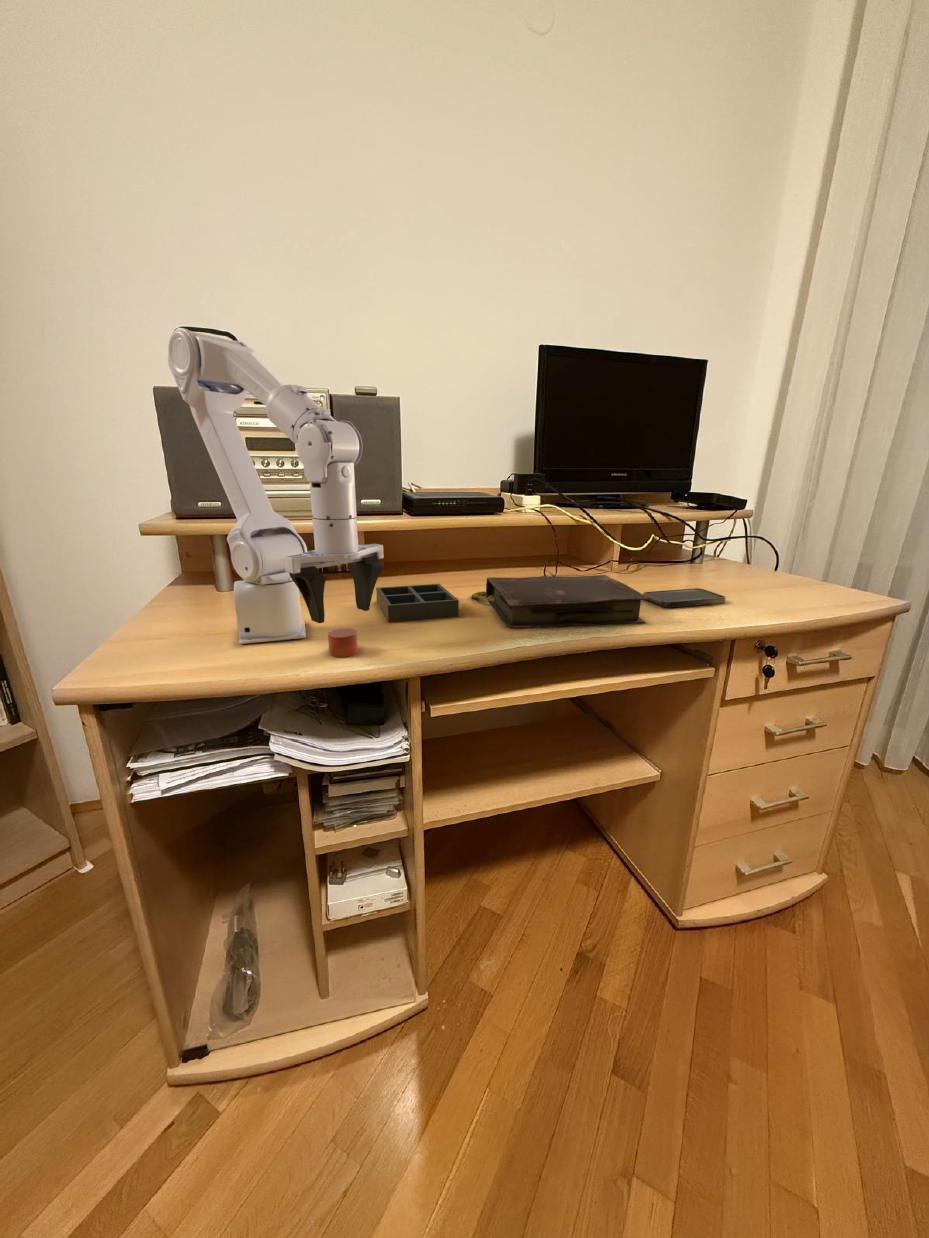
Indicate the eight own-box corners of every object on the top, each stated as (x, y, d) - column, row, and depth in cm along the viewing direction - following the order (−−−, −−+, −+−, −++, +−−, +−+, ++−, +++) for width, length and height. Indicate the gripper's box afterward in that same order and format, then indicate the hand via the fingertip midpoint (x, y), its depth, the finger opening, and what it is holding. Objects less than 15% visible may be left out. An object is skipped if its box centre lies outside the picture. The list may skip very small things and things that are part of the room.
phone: (641, 592, 101) (700, 587, 106) (640, 597, 102) (699, 592, 106) (666, 602, 94) (728, 597, 98) (665, 608, 95) (727, 602, 99)
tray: (388, 622, 84) (387, 605, 83) (376, 602, 95) (376, 587, 95) (458, 616, 88) (458, 600, 87) (439, 597, 99) (439, 583, 98)
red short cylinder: (330, 658, 69) (328, 638, 68) (328, 648, 72) (326, 629, 71) (359, 655, 70) (358, 635, 69) (355, 645, 73) (354, 626, 72)
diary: (485, 599, 98) (486, 574, 97) (601, 595, 103) (604, 572, 101) (508, 632, 81) (510, 603, 79) (647, 626, 85) (652, 599, 84)
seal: (468, 612, 96) (546, 614, 94) (468, 589, 94) (547, 591, 92) (474, 595, 104) (545, 596, 102) (473, 574, 102) (546, 575, 100)
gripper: (302, 525, 57) (311, 634, 61) (396, 516, 68) (399, 609, 72) (271, 519, 62) (282, 622, 66) (364, 512, 72) (368, 600, 76)
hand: (341, 615), depth 69 cm, fingers open, 7 cm apart
